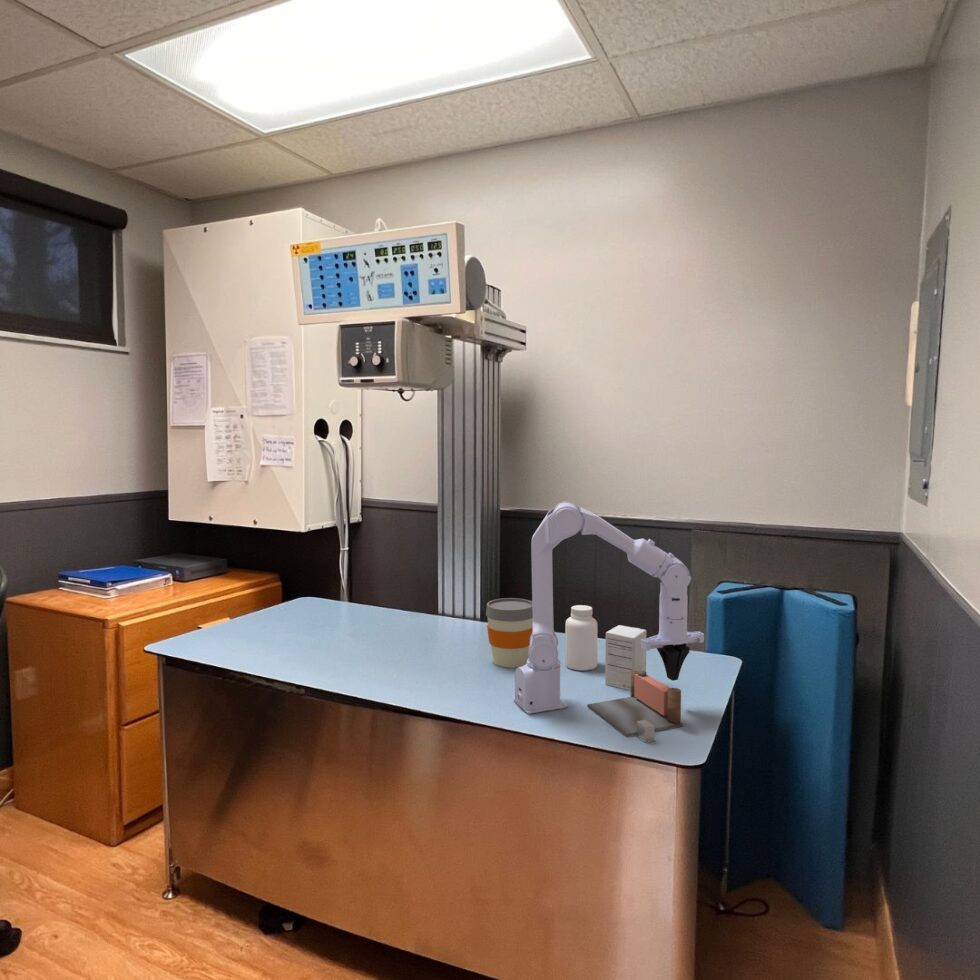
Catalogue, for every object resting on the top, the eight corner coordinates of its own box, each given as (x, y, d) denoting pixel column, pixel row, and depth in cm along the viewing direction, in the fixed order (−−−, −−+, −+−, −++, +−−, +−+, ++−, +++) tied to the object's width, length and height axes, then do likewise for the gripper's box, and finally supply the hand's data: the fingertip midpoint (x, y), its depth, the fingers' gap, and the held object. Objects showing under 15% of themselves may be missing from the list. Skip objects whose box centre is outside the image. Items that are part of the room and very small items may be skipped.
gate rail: (663, 715, 140) (664, 688, 140) (634, 696, 150) (634, 671, 150) (673, 713, 141) (673, 686, 141) (643, 694, 151) (644, 669, 151)
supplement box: (618, 675, 167) (618, 624, 165) (646, 681, 162) (647, 629, 161) (604, 684, 161) (604, 631, 160) (633, 691, 156) (634, 637, 155)
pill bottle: (599, 662, 176) (599, 604, 175) (595, 672, 168) (595, 612, 167) (568, 659, 178) (568, 602, 177) (562, 670, 171) (563, 610, 169)
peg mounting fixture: (626, 737, 134) (626, 702, 133) (585, 705, 149) (585, 673, 148) (683, 725, 138) (684, 692, 138) (637, 696, 154) (638, 665, 153)
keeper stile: (645, 742, 131) (645, 727, 131) (636, 736, 134) (636, 721, 134) (654, 740, 132) (654, 725, 132) (645, 734, 135) (645, 719, 134)
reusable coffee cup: (519, 673, 169) (519, 613, 167) (476, 664, 175) (476, 606, 174) (543, 658, 179) (543, 601, 178) (502, 650, 186) (502, 595, 185)
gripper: (689, 607, 152) (689, 667, 153) (633, 615, 147) (632, 677, 148) (710, 616, 145) (709, 678, 147) (652, 623, 140) (651, 688, 141)
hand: (672, 678), depth 147 cm, fingers closed
